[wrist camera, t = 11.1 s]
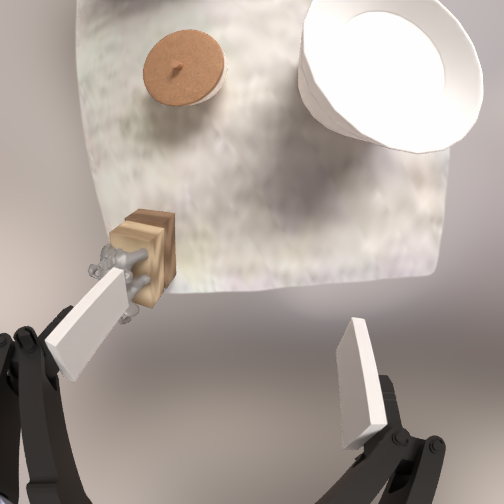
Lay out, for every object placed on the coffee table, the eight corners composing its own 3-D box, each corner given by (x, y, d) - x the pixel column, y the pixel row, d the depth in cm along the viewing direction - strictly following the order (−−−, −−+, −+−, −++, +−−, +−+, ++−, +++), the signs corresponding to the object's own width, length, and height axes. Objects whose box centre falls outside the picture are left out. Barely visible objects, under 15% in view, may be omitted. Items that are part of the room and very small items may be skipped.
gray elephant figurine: (143, 231, 36) (111, 254, 29) (174, 305, 40) (152, 337, 33) (100, 245, 38) (69, 266, 31) (130, 309, 42) (106, 337, 35)
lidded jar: (205, 121, 37) (181, 122, 28) (154, 86, 35) (121, 81, 26) (250, 66, 32) (238, 50, 24) (195, 32, 30) (170, 14, 22)
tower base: (139, 208, 45) (124, 218, 40) (175, 212, 44) (162, 223, 40) (144, 267, 50) (132, 280, 46) (176, 273, 50) (166, 288, 45)
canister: (392, 150, 34) (466, 181, 17) (288, 122, 35) (284, 120, 18) (409, 57, 27) (485, 27, 9) (306, 25, 28) (315, -46, 10)
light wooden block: (126, 220, 40) (109, 232, 36) (164, 228, 40) (149, 242, 36) (130, 281, 46) (116, 296, 42) (164, 291, 46) (152, 308, 41)
